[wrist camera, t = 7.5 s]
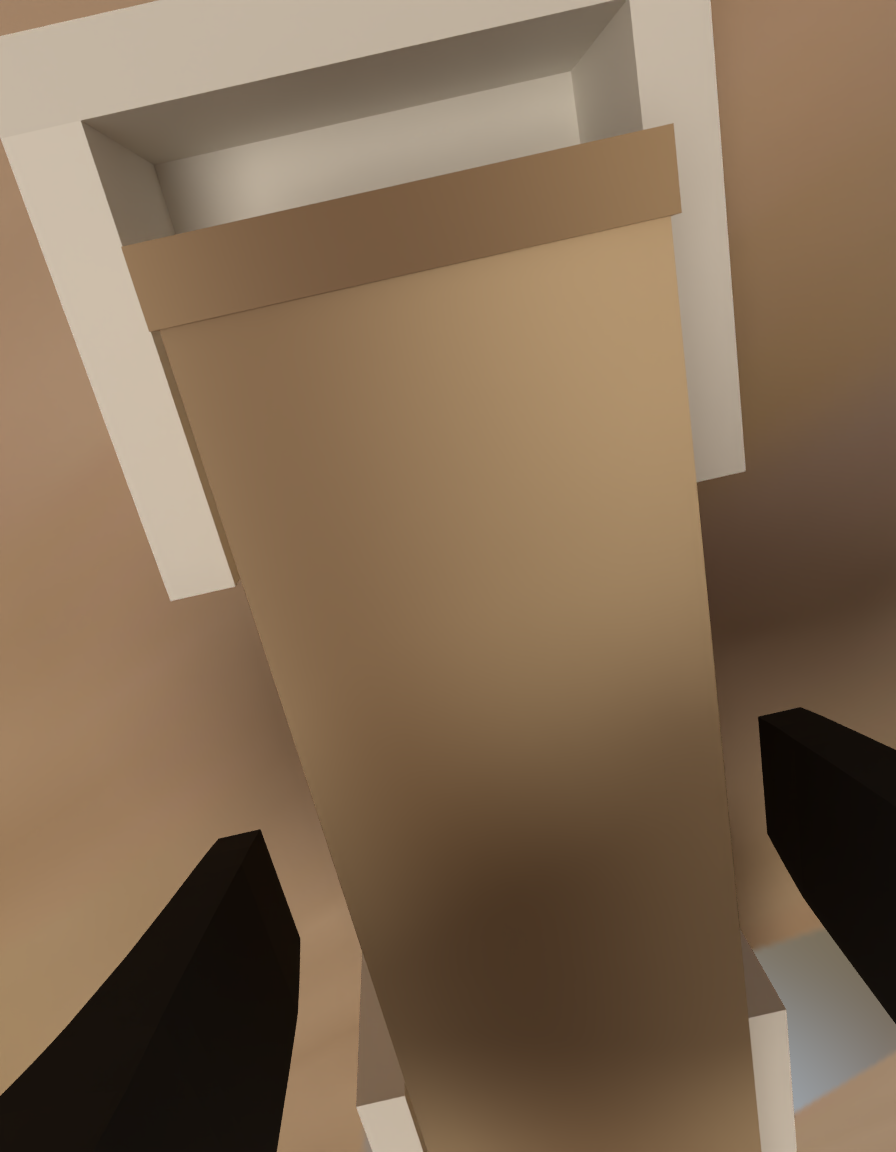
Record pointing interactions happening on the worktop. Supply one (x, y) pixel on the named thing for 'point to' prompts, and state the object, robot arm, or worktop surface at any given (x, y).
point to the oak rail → (490, 626)
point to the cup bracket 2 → (398, 1126)
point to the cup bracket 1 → (333, 171)
